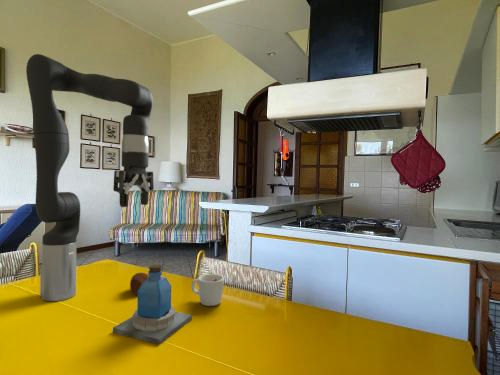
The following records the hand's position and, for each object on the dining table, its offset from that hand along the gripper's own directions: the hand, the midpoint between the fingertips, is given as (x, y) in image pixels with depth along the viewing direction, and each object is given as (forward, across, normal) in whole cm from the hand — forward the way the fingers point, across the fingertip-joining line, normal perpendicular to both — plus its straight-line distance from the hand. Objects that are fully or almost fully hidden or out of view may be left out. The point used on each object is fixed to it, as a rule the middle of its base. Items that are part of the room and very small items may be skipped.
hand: (134, 205), depth 93 cm
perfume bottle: (+27, +8, +14) cm, 31 cm away
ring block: (+30, +8, +14) cm, 34 cm away
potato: (+30, -10, -6) cm, 33 cm away
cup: (+30, -11, +19) cm, 37 cm away
